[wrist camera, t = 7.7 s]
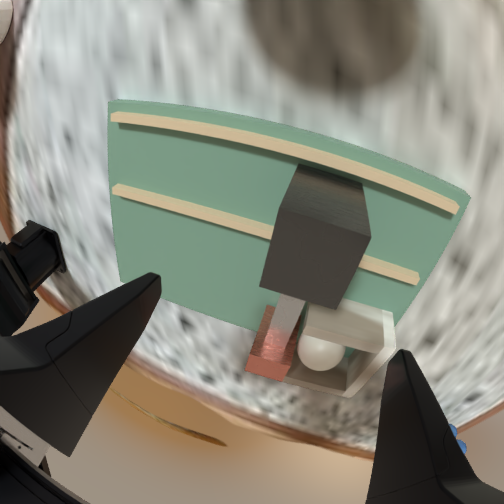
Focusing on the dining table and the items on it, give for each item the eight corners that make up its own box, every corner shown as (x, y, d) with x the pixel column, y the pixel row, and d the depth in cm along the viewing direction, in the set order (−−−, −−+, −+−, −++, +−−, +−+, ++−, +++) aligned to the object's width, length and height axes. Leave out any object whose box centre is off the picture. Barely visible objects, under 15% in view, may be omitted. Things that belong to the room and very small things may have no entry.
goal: (353, 356, 27) (350, 398, 23) (288, 338, 28) (278, 380, 24) (391, 302, 22) (395, 349, 18) (314, 279, 23) (306, 325, 19)
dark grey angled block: (299, 334, 25) (284, 396, 20) (255, 320, 26) (233, 380, 20) (362, 183, 16) (371, 237, 11) (298, 163, 17) (278, 208, 12)
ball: (308, 386, 22) (282, 350, 24) (343, 368, 24) (318, 335, 26) (325, 361, 19) (295, 321, 22) (362, 341, 21) (333, 307, 24)
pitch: (366, 352, 26) (366, 369, 25) (126, 274, 29) (116, 286, 28) (464, 190, 16) (475, 202, 14) (118, 99, 19) (101, 103, 17)
